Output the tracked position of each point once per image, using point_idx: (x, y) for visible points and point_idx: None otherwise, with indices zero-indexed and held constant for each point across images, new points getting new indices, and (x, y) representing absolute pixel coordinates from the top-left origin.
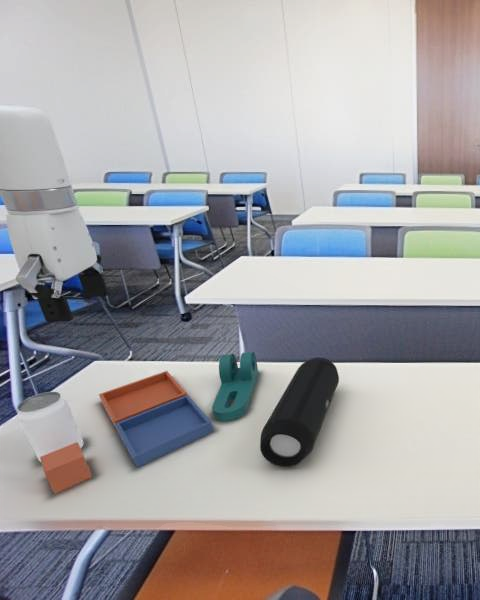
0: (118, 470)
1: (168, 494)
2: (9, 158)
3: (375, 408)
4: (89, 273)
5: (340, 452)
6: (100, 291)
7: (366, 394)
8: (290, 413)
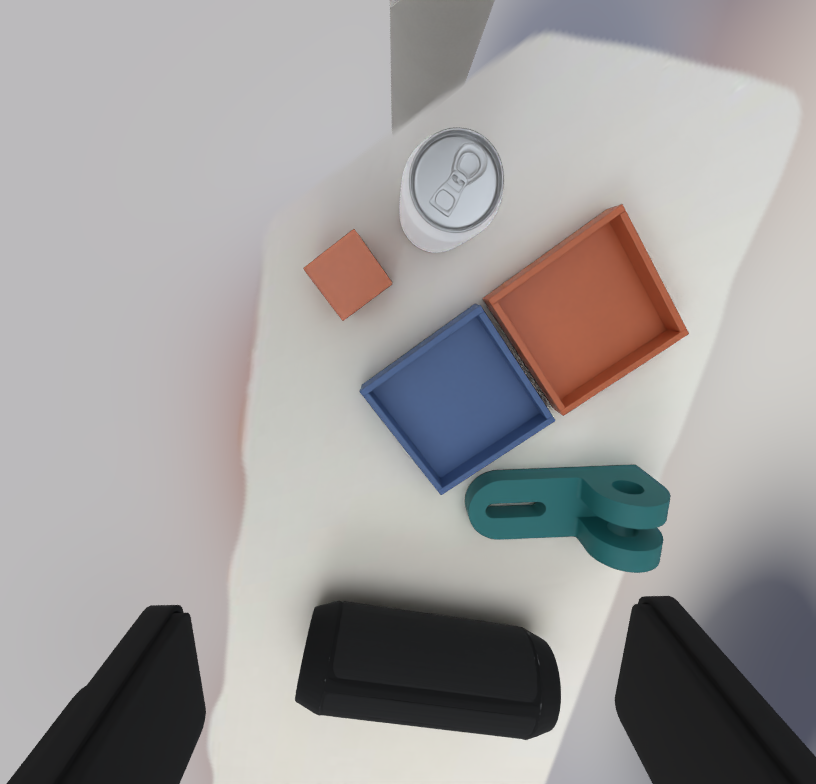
0: (360, 354)
1: (289, 459)
2: None
3: None
4: None
5: None
6: (641, 729)
7: None
8: (338, 709)
